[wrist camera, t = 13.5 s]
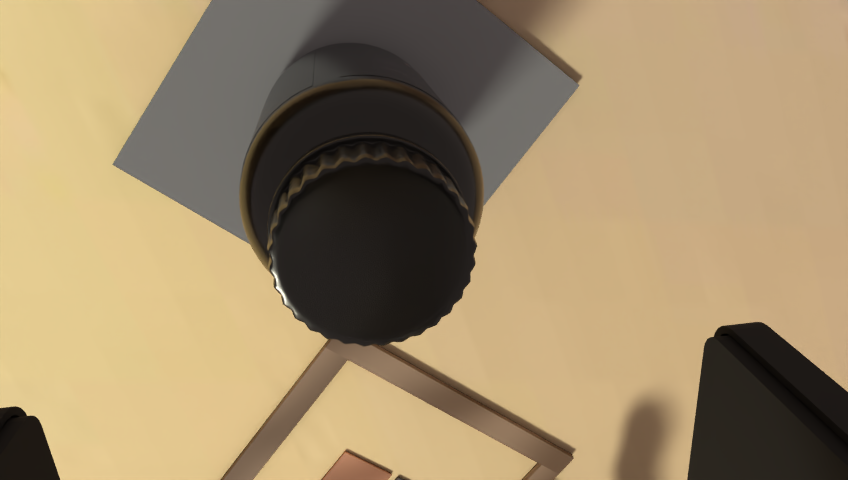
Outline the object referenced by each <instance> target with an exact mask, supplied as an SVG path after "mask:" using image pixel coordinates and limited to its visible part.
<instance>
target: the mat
mask: <svg viewBox="0 0 848 480" xmlns="http://www.w3.org/2000/svg"><path fill="white" fill-rule="evenodd" d="M338 43H362V44H368V45H372V46H376V47H379V48H382V49H384V50H387V51H389V52H391V53H393V54H395V55H397V56H398V57H400V58H401V59H403V60H404V61H405V62H407V63H408V64H409V65H410V66H411V67H412V68H413V69H414V70H415V71H417V72H418V73H419V74H420V75H421V77H422V78H423V79H424V80H425V81H426V83H427V84H428V85H429V86H430V87H431V89H432V90H433V91H434V92H435V93H436V95H437V96H438V97H439V98H440V99H441V101H442V102H443V103H444V104H445V105H446V107H447V108H448V109H449V110H450V111H451V113H452V114H453V115H454V116H455V117H456V119H457V120H458V121H459V122H460V124H461V125H462V127H463V128H464V130H465V131H466V133H467V135H468V136H469V138H470V140H471V142H472V144H473V146H474V148H475V151H476V153H477V156H478V159H479V162H480V166H481V170H482V175H483V184H484V203H483V206H484V205H485V203H486V202H487V201H488V200H489V198H490V197H491V196H492V194H493V193H494V192H495V191H496V189H497V188H498V187H499V186H500V184H501V183H502V182H503V181H504V179H505V178H506V177H507V176H508V174H509V173H510V172H511V171H512V169H513V168H514V167H515V166H516V164H517V163H518V162H519V161H520V159H521V158H522V157H523V156H524V154H525V153H526V152H527V151H528V149H529V148H530V147H531V146H532V144H533V143H534V142H535V141H536V139H537V138H538V137H539V136H540V134H541V133H542V132H543V131H544V129H545V128H546V127H547V125H548V124H549V123H550V122H551V120H552V119H553V118H554V117H555V115H556V114H557V113H558V112H559V110H560V109H561V108H562V107H563V105H564V104H565V103H566V102H567V100H568V99H569V98H570V97H571V95H572V94H573V93H574V92H575V90H576V89H577V88H578V87H579V85H578V84H577V83H576V82H575V81H573V80H572V79H571V78H570V77H569V76H567V75H566V74H565V73H564V72H563V71H561V70H560V69H559V68H558V67H557V66H555V65H554V64H553V63H552V62H550V61H549V60H548V59H547V58H546V57H544V56H543V55H542V54H541V53H540V52H538V51H537V50H536V49H535V48H533V47H532V46H531V45H530V44H529V43H527V42H526V41H525V40H524V39H523V38H521V37H520V36H519V35H518V34H517V33H515V32H514V31H513V30H512V29H510V28H509V27H508V26H507V25H506V24H504V23H503V22H502V21H501V20H500V19H498V18H497V17H496V16H495V15H493V14H492V13H491V12H490V11H489V10H487V9H486V8H485V7H484V6H483V5H481V4H480V3H479V2H478V1H477V0H212V1H211V2H210V4H209V6H208V7H207V9H206V11H205V12H204V14H203V16H202V17H201V19H200V21H199V22H198V24H197V26H196V27H195V29H194V31H193V32H192V34H191V35H190V37H189V39H188V40H187V42H186V44H185V45H184V47H183V49H182V50H181V52H180V54H179V55H178V57H177V59H176V60H175V62H174V64H173V65H172V67H171V69H170V70H169V72H168V74H167V75H166V77H165V79H164V80H163V82H162V83H161V85H160V87H159V88H158V90H157V92H156V93H155V95H154V97H153V98H152V100H151V102H150V103H149V105H148V107H147V108H146V110H145V112H144V113H143V115H142V117H141V118H140V120H139V122H138V123H137V125H136V127H135V128H134V130H133V131H132V133H131V135H130V136H129V138H128V140H127V141H126V143H125V145H124V146H123V148H122V150H121V151H120V153H119V155H118V156H117V158H116V160H115V161H114V163H113V165H114V166H116V167H117V168H119V169H121V170H123V171H124V172H126V173H128V174H130V175H131V176H133V177H135V178H136V179H138V180H140V181H142V182H143V183H145V184H147V185H149V186H150V187H152V188H154V189H155V190H157V191H159V192H161V193H162V194H164V195H166V196H168V197H169V198H171V199H173V200H174V201H176V202H178V203H180V204H181V205H183V206H185V207H187V208H188V209H190V210H192V211H193V212H195V213H197V214H199V215H200V216H202V217H204V218H206V219H207V220H209V221H211V222H213V223H214V224H216V225H218V226H219V227H221V228H223V229H225V230H226V231H228V232H230V233H232V234H233V235H235V236H237V237H238V238H240V239H242V240H244V241H245V242H247V243H249V244H250V242H249V240H248V238H247V235H246V233H245V230H244V227H243V223H242V219H241V214H240V206H239V187H240V177H241V172H242V167H243V163H244V159H245V156H246V153H247V150H248V147H249V144H250V142H251V139H252V136H253V134H254V131H255V128H256V126H257V123H258V120H259V118H260V115H261V112H262V109H263V107H264V104H265V102H266V100H267V97H268V95H269V93H270V91H271V89H272V87H273V86H274V84H275V83H276V81H277V80H278V78H279V77H280V76H281V75H282V73H283V72H284V71H285V70H286V69H287V68H288V67H289V66H290V65H291V64H292V63H294V62H295V61H296V60H298V59H299V58H300V57H302V56H304V55H305V54H307V53H309V52H311V51H313V50H315V49H318V48H321V47H324V46H327V45H332V44H338Z"/></svg>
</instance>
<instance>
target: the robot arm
mask: <svg viewBox="0 0 848 480" xmlns="http://www.w3.org/2000/svg"><path fill="white" fill-rule="evenodd" d="M0 480H60V478H59V475H58V472H57V469H56V466H55V463H54V460H53V457H52V455H51V452H50V449H49V446H48V443H47V440H46V437H45V434H44V431H43V428H42V425H41V423H40V421H39V420H38V419H37V418H36V417H35V416H27V415H26V413H25V412H24V411H23V410H22V409H21V408H19V407H16V406H15V407H6V408H0ZM687 480H848V392H847V391H846V390H845V389H843V388H842V387H841V386H840V385H839V384H837V383H836V382H835V381H834V380H833V379H831V378H830V377H829V376H828V375H826V374H825V373H824V372H823V371H822V370H820V369H819V368H818V367H817V366H816V365H814V364H813V363H812V362H811V361H810V360H808V359H807V358H806V357H805V356H803V355H802V354H801V353H800V352H799V351H797V350H796V349H795V348H794V347H793V346H791V345H790V344H789V343H788V342H787V341H785V340H784V339H783V338H782V337H780V336H779V335H778V334H777V333H776V332H774V331H773V330H772V329H771V328H770V327H768V326H767V325H765V324H764V323H762V322H753V323H745V324H736V325H727V326H721V327H720V328H718V329H717V331H716V332H715V335H714V337H710V338H709V339H707V341H706V342H705V346H704V352H703V360H702V368H701V376H700V384H699V392H698V400H697V408H696V416H695V423H694V431H693V439H692V447H691V455H690V463H689V471H688V479H687Z"/></svg>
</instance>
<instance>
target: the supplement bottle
mask: <svg viewBox="0 0 848 480" xmlns="http://www.w3.org/2000/svg"><path fill="white" fill-rule="evenodd" d="M483 203H484V184H483V175H482V170H481V166H480V162H479V159H478V156H477V153H476V151H475V148H474V146H473V144H472V142H471V140H470V138H469V136H468V135H467V133H466V131H465V130H464V128H463V127H462V125H461V124H460V122H459V121H458V120H457V119H456V117H455V116H454V115H453V114H452V113H451V111H450V110H449V109H448V108H447V107H446V105H445V104H444V103H443V102H442V101H441V99H440V98H439V97H438V96H437V95H436V93H435V92H434V91H433V90H432V89H431V87H430V86H429V85H428V84H427V83H426V81H425V80H424V79H423V78H422V77H421V75H420V74H419V73H418V72H417V71H415V70H414V69H413V68H412V67H411V66H410V65H409V64H408V63H407V62H405V61H404V60H403V59H401V58H400V57H398V56H397V55H395V54H393V53H391V52H389V51H387V50H384V49H382V48H379V47H376V46H372V45H368V44H362V43H338V44H332V45H327V46H324V47H321V48H318V49H315V50H313V51H311V52H309V53H307V54H305V55H304V56H302V57H300V58H299V59H298V60H296V61H295V62H294V63H292V64H291V65H290V66H289V67H288V68H287V69H286V70H285V71H284V72H283V73H282V75H281V76H280V77H279V78H278V80H277V81H276V83H275V84H274V86H273V87H272V89H271V91H270V93H269V95H268V97H267V100H266V102H265V104H264V107H263V109H262V112H261V115H260V118H259V120H258V123H257V126H256V128H255V131H254V134H253V136H252V139H251V142H250V144H249V147H248V150H247V153H246V156H245V159H244V163H243V167H242V172H241V177H240V187H239V206H240V214H241V219H242V223H243V227H244V230H245V233H246V235H247V238H248V240H249V242H250V245H251V247H252V249H253V250H254V252H255V254H256V255H257V257H258V259H259V260H260V261H261V263H262V264H263V265H264V267H265V268H266V269H267V270H268V271H269V272H270V273H271V274H272V275H273V277H274V288H275V289H276V290H277V291H278V292H279V293H280V294H281V295H282V296H281V297H282V302H283V304H284V305H285V306H286V307H288V308H289V309H291V310H292V312H293V315H294V317H295V318H296V319H298V320H300V321H302V322H304V323H305V324H306V325H307V327H308V328H309V329H310V330H312V331H315V332H319V333H321V334H322V335H323V336H324V337H325V338H327V339H335V340H339V341H340V342H342V343H344V344H358V345H360V346H364V347H365V346H369V345H373V344H376V345H381V346H384V345H387V344H389V343H391V342H403V341H404V340H406V339H407V338H409V337H410V336H417V335H421V334H422V333H423V332H424V331H425V330H426V329H427V328H430V327H433V326H435V325H437V323H438V322H439V321H440V319H441V317H443V316H445V315H447V314H449V313H450V312H451V310H452V307H453V305H454V304H455V303H456V302H458V301H459V300H460V299H461V298H462V295H463V290H464V288H465V287H466V286H467V285H468V284H469V283H470V272H471V271H472V269H473V268H474V266H475V258H474V253H475V250H476V247H477V243H476V241H475V236H476V233H477V230H478V228H479V225H480V221H481V216H482V211H483Z"/></svg>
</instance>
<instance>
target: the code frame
mask: <svg viewBox="0 0 848 480" xmlns="http://www.w3.org/2000/svg"><path fill="white" fill-rule="evenodd" d="M347 360H349V361H351V362H353V363H355V364H357V365H359V366H360V367H362V368H364V369H366V370H368V371H370V372H371V373H373V374H375V375H377V376H379V377H381V378H383V379H384V380H386V381H388V382H390V383H392V384H394V385H395V386H397V387H399V388H401V389H403V390H405V391H406V392H408V393H410V394H412V395H414V396H416V397H418V398H419V399H421V400H423V401H425V402H427V403H429V404H430V405H432V406H434V407H436V408H438V409H440V410H442V411H443V412H445V413H447V414H449V415H451V416H453V417H454V418H456V419H458V420H460V421H462V422H464V423H465V424H467V425H469V426H471V427H473V428H475V429H477V430H478V431H480V432H482V433H484V434H486V435H488V436H489V437H491V438H493V439H495V440H497V441H499V442H500V443H502V444H504V445H506V446H508V447H510V448H512V449H513V450H515V451H517V452H519V453H521V454H523V455H524V456H526V457H528V458H530V459H532V460H534V461H535V462H537V463H538V464H537V465H536V466H535V467H534V468H533V469H532V470H531V471H530V472H529V473H528V474H527V475H526V476H525V477H524V478H523V479H522V480H553V479H554V478H555V477H556V476H557V475H558V474H559V473H560V472H561V471H562V470H563V469H564V468H565V467H566V466H567V465H568V464H569V463H570V462H571V461H572V460H573V459H574V458H573V456H572V454H570V453H568V452H567V451H565V450H563V449H561V448H560V447H558V446H556V445H554V444H552V443H551V442H549V441H547V440H545V439H544V438H542V437H540V436H538V435H536V434H535V433H533V432H531V431H529V430H528V429H526V428H524V427H522V426H520V425H519V424H517V423H515V422H513V421H511V420H510V419H508V418H506V417H504V416H503V415H501V414H499V413H497V412H495V411H494V410H492V409H490V408H488V407H487V406H485V405H483V404H481V403H479V402H478V401H476V400H474V399H472V398H471V397H469V396H467V395H465V394H463V393H462V392H460V391H458V390H456V389H455V388H453V387H451V386H449V385H447V384H446V383H444V382H442V381H440V380H438V379H437V378H435V377H433V376H431V375H430V374H428V373H426V372H424V371H422V370H421V369H419V368H417V367H415V366H414V365H412V364H410V363H408V362H406V361H405V360H403V359H401V358H399V357H398V356H396V355H394V354H392V353H390V352H389V351H387V350H385V349H383V348H382V347H380V346H378V345H376V344H373V345H369V346H365V347H364V346H360V345H358V344H344V343H342V342H340V341H339V340H335V339H329V340H328V341H327V343H326V344H325V345H324V347H323V348H322V349H321V351H320V352H319V353H318V354H317V356H316V357H315V358H314V360H313V361H312V362H311V364H310V365H309V366H308V367H307V369H306V370H305V371H304V373H303V374H302V375H301V376H300V378H299V379H298V380H297V382H296V383H295V384H294V386H293V387H292V388H291V389H290V391H289V392H288V393H287V395H286V396H285V397H284V398H283V400H282V401H281V402H280V404H279V405H278V406H277V408H276V409H275V410H274V411H273V413H272V414H271V415H270V417H269V418H268V419H267V421H266V422H265V423H264V424H263V426H262V427H261V428H260V430H259V431H258V432H257V433H256V435H255V436H254V437H253V439H252V440H251V441H250V443H249V444H248V445H247V446H246V448H245V449H244V450H243V452H242V453H241V454H240V455H239V457H238V458H237V459H236V461H235V462H234V463H233V465H232V466H231V467H230V468H229V470H228V471H227V472H226V474H225V475H224V476H223V477H222V479H221V480H253V479H254V478H255V476H256V475H257V474H258V473H259V471H260V470H261V469H262V468H263V466H264V465H265V464H266V463H267V461H268V460H269V459H270V457H271V456H272V455H273V454H274V452H275V451H276V450H277V449H278V447H279V446H280V445H281V444H282V442H283V441H284V440H285V439H286V437H287V436H288V435H289V433H290V432H291V431H292V430H293V428H294V427H295V426H296V425H297V423H298V422H299V421H300V420H301V418H302V417H303V416H304V414H305V413H306V412H307V411H308V409H309V408H310V407H311V406H312V404H313V403H314V402H315V401H316V399H317V398H318V397H319V395H320V394H321V393H322V392H323V390H324V389H325V388H326V387H327V385H328V384H329V383H330V382H331V380H332V379H333V378H334V376H335V375H336V374H337V373H338V371H339V370H340V369H341V368H342V366H343V365H344V364H345V363H346V361H347ZM391 475H392V474H391V473H389V472H387V471H385V470H383V469H381V468H379V467H377V466H375V465H373V464H371V463H369V462H367V461H365V460H362V459H360V458H358V457H356V456H354V455H352V454H350V453H348V452H346V451H345V452H344V453H343V455H342V456H341V457H340V458H339V459H338V461H337V462H336V463H335V464H334V465H333V467H332V468H331V469H330V470H329V471H328V473H327V474H326V475H325V476H324V477H323V479H322V480H388V479H389V478H390V476H391ZM395 480H404V479H402V478H399V477H397V478H396V479H395Z"/></svg>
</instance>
